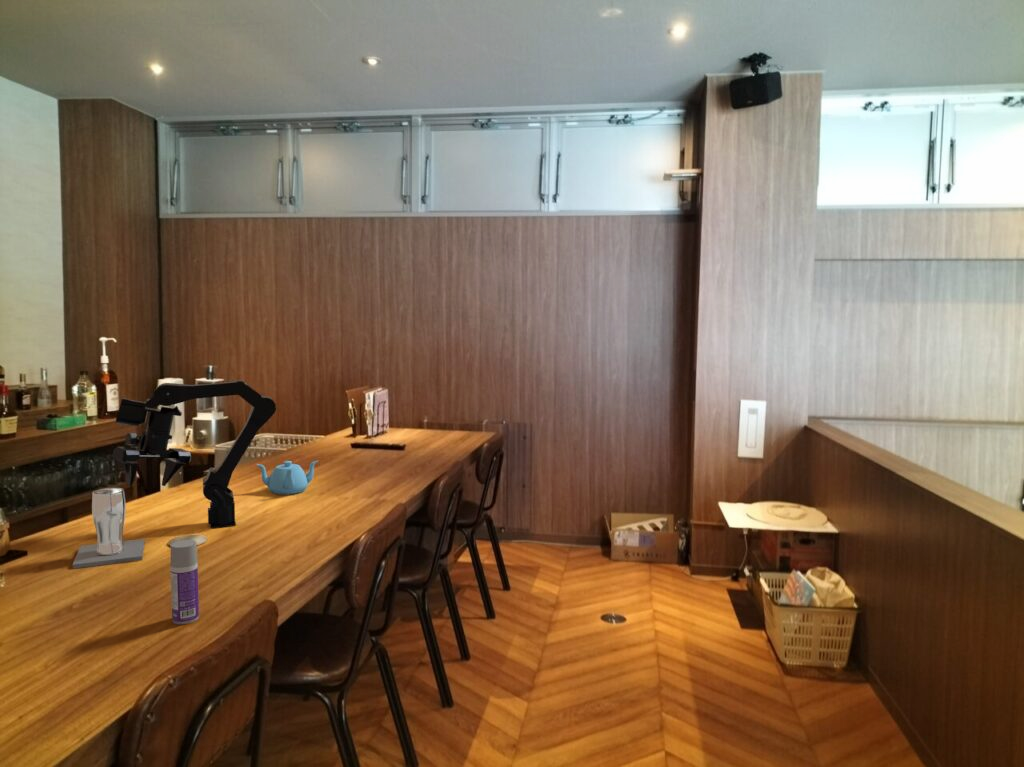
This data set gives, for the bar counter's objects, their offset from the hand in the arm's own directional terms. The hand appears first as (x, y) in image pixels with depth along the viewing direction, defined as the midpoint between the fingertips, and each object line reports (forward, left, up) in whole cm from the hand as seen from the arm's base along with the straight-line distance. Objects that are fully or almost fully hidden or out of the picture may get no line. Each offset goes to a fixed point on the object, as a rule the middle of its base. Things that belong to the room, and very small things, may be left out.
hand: (146, 486), depth 180 cm
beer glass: (+7, +17, -12) cm, 22 cm away
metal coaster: (-10, +14, -13) cm, 21 cm away
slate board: (+7, +17, -13) cm, 22 cm away
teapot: (-41, -29, -13) cm, 52 cm away
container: (-9, +63, -13) cm, 64 cm away
